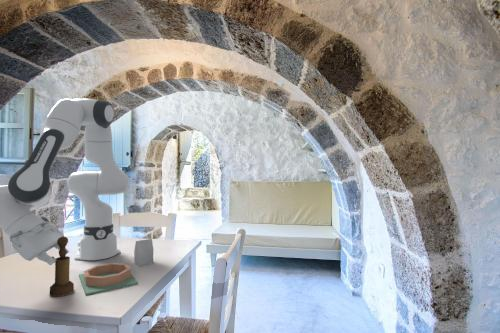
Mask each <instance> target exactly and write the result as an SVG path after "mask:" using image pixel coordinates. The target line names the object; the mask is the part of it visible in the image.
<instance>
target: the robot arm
mask: <svg viewBox="0 0 500 333" xmlns="http://www.w3.org/2000/svg"><path fill="white" fill-rule="evenodd" d="M114 118H115V109H114V107H113V106H112V104H111V102H109V101H106V100H102V99H99V100H98V99H93V98H73V99H72V98H63V99H60V100H58V101H57V102H56V103H55V104H54V106H53V107H52V108H51V109H50V111H49V113H48V114H47V117H46V119H44V123H43V125H42V128H41V130H40V134H39V138H38V142H37V143H36V145H35V147H34V149H33V150H32V152H31V154H30V156H29V158H28V160H27V161H26V162H25V164H24V165H23V167H21V168H20V169H19V170H17V171H15V173H14V174H13V175H12V176H11V177H10V179H9V181H8V184H6V185H5V184H4V185H0V228H1V230H2V231H3V233H4V234H5V235H6V236H7V237H9V242H10V243H11V246H12V249H14V250H15V252H17V253H18V254H19V255H20V256H21V258H22V259H24V260H26V261H28V262H31V261H32V260H34V259H36V258H37V259H38V260H39V261H42V262H44V263H47V265H49V266H52V265H53V264H55V262H56V258H55V257H54V255H53V256H51V255H49V254H48V251H49V250H51V249H53V248H55V249H56V250H58V252H59V251H60V247H59V245H58V244H57V240H58V239H59V238H60V237H65V235H64V233H63V232H61V231H60V229H59V228H58V227H57V226H56V225H54V224H53V223H51V220H50V219H49V218H48V217H46V216H40V215H37V214H35V213H34V212H33V211H35V210H36V209H39V208H41V207H43V206H44V205H46V204H47V203H48V202H49V201H50V200H51V199H50V198H51V196H52V189H51V180H50V171H51V169H52V167H53V164H54V163H55V161H56V158H57V156H58V155H59V153H60V152H61V151H62V150H67V149H69V148H71V147H72V145H73V144H74V143H75V141H76V139H77V138H78V136H79V133H80V132H81V128H82V127H84V157H85V159H86V160H87V161H89V163H92V164H93V165H96V166H97V167H98V168H99V170H81V171H76V172H72V173H71V174H70V175H68V177H67V181H66V187H67V189H68V191H69V192H70V193H71V194H73V195H74V196H76V198H78V200H80V202H81V204H82V207H83V209H84V220H85V221H84V225H83V236H82V238H81V239H80V240H79V241H77V247H78V249H77V251H76V253H75V256H74V260H76V261H77V260H80V261H98V260H99V261H100V260H105V259H108V258H112V257H114V256H116V255H118V254H121V252H122V251H121V250H120V249H118V241H117V240H118V238H117V235H116V234H115V233H114V228H115V227H114V224H113V208H112V206H111V205H110V204H108V203H107V202H104V201H102V200H101V199H100V197H99V196H101V195H103V196H106V195H107V196H108V195H110V196H111V195H112V196H114V195H119V194H125V193H126V192H127V191H128V190H129V188H130V186H131V181H130V177H129V175H128V174H127V173H126V172H124V171H123V170H122V169H121V168H120V167H119V166H118V165H117V163H116V161H115V159H114V158H115V157H114V152H113V151H114V150H113V136H112V135H113V132H112V128H111V124H112V123H113V121H114ZM65 249H66V250H67V253H66V255H67V254H68V253H69V252H70V250H69V249H67V248H66V247H65Z"/></svg>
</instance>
